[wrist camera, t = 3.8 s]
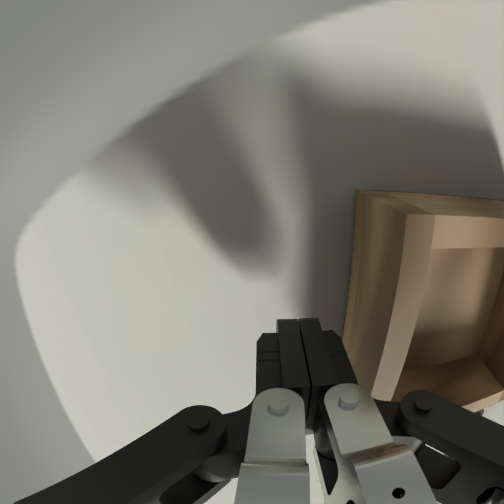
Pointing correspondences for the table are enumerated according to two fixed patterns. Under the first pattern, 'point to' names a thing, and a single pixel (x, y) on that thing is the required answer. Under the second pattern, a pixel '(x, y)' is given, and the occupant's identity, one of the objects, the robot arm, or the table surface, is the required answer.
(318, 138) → the table surface
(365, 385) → the socket block
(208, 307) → the table surface
